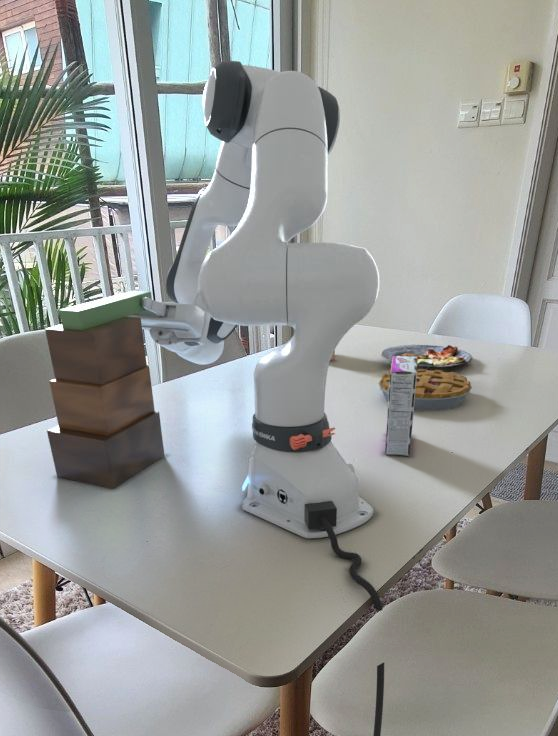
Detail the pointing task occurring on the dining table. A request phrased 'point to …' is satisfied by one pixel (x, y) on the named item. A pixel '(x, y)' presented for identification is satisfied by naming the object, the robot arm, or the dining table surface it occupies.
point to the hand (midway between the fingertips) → (130, 300)
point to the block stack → (102, 403)
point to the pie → (434, 389)
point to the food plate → (430, 355)
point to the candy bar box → (401, 405)
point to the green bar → (102, 310)
